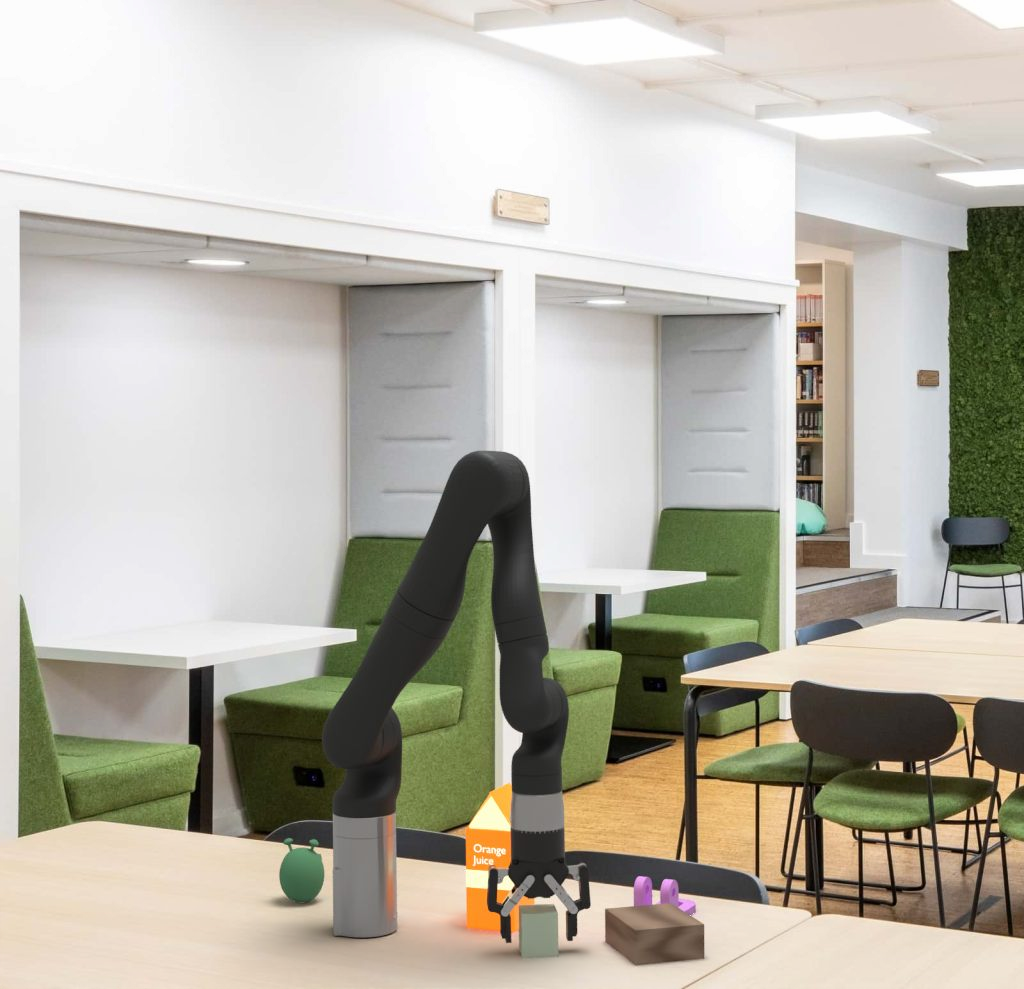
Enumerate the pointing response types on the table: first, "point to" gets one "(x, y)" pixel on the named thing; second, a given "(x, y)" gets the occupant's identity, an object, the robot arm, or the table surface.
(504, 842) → the orange juice
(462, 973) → the table surface
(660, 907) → the plate
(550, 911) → the sage block
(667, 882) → the bracket
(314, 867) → the alien toy
